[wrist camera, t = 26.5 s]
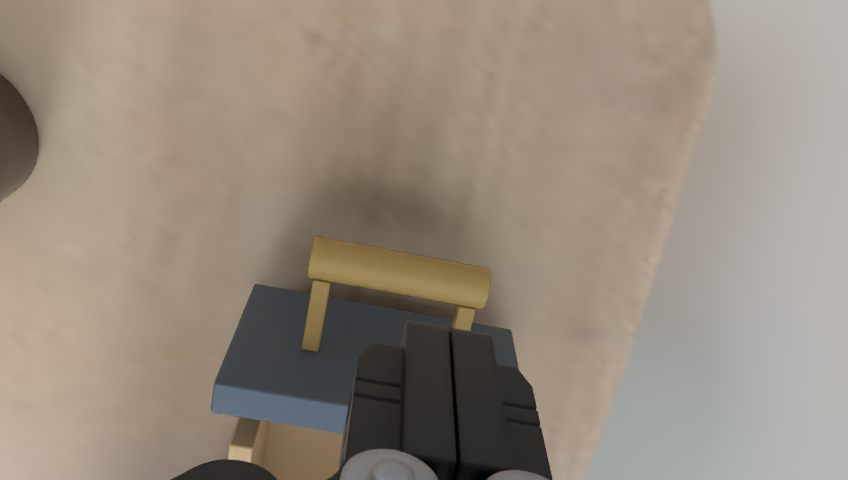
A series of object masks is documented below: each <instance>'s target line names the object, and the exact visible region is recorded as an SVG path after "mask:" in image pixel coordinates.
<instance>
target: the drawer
mask: <svg viewBox="0 0 848 480" xmlns="http://www.w3.org/2000/svg"><path fill="white" fill-rule="evenodd" d="M307 276H308V277H309V278H313V282H312V288H311V294H310V293H304V292H299V291H293V290H288V289H282V288H277V287H271V286H266V285H260V284H255V285H254V287H253V289H252V292H251V294H250V297H249V299H248V302H247V304H246V306H245V309H244V311H243V314H242V316H241V319H240V321H239V324H238V326H237V328H236V331H235V333H234V336H233V338H232V341H231V343H230V346H229V348H228V350H227V353H226V355H225V358H224V360H223V363H222V365H221V368H220V370H219V373H218V375H217V377H216V380H215V382H214V388H213V396H212V405H211V411H212V412H213V413H219V414H225V415H231V416H237V417H238V420H237V423H236V426H235V429H234V432H233V435H232V438H231V441H230V444H229V450H228V457H227V460H228V459H230V460H241V461H246V462H250V463H253V464H256V465H258V466H260V467H262V468H264V469H266V470H267V471H269V472H270V473H271V474H272V475H274V476H275V477H276V478H277V480H327V479H328V478H330V477H332V476H333V475H334V474H335V473H336V472H337V471H338V469H339V460H340V453H341V446H342V438H343V431H344V425H345V420H346V416H347V411H348V406H349V401H350V396H351V391H352V386H353V381H354V376H355V371H356V366H357V361H358V357H359V356H360V355H361V354H362V353H363V352H364V351H365V350H366V349H367V348H368V347H369V346H370V345H371V344H372V343H376V344H382V345H388V346H394V347H399V346H400V342H401V337H402V333H403V329H404V325H405V322H406V320H410V321H416V322H421V323H427V324H433V325H438V326H444V327H447V328H448V330H449V328H456V329H462V330H467V331H473V332H479V333H484V334H490V335H491V336H492V339H493V345H494V352H495V358H496V364H498V365H504V366H510V367H515V368H517V369H518V370H519V368H518V363H517V358H516V353H515V347H514V342H513V337H512V332H511V330H509V329H503V328H498V327H492V326H487V325H481V324H475V323H472V322H473V319H474V315H475V311H476V309H475V308H478V309H483V308H484V306H485V304H486V302H487V298H488V294H489V289H490V282H491V271H490V269H489V268H484V267H478V266H473V265H468V264H462V263H457V262H452V261H446V260H441V259H436V258H430V257H425V256H420V255H414V254H409V253H404V252H398V251H393V250H388V249H382V248H377V247H372V246H366V245H361V244H356V243H350V242H345V241H340V240H334V239H329V238H324V237H318V236H315V238H314V241H313V245H312V250H311V255H310V260H309V266H308V272H307ZM331 282H336V283H342V284H347V285H353V286H358V287H364V288H369V289H375V290H380V291H385V292H391V293H396V294H402V295H407V296H413V297H418V298H424V299H429V300H435V301H440V302H446V303H451V304H457V306H456V310H455V314H454V318H453V319H448V318H442V317H437V316H431V315H426V314H420V313H415V312H409V311H404V310H398V309H393V308H387V307H382V306H376V305H371V304H365V303H360V302H354V301H348V300H343V299H337V298H332V297H329V291H330V286H331Z"/></svg>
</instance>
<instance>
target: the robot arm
mask: <svg viewBox="0 0 848 480" xmlns="http://www.w3.org/2000/svg"><path fill="white" fill-rule="evenodd" d="M171 480H277V478H276V477H275V476H274V475H272V474H271V473H270V472H269V471H267V470H266V469H264V468H262V467H260V466H258V465H256V464H253V463H250V462H246V461H241V460H230V459H228V460H216V461H211V462H207V463H204V464H201V465H199V466H197V467H194V468H192V469H190V470H189V471H187V472H185V473H183V474H181V475H179V476H177V477H175V478H173V479H171ZM327 480H552V475H551V471H550V466H549V462H548V457H547V453H546V448H545V443H544V439H543V434H542V430H541V428H540V421H539V416H538V412H537V411H536V403H535V398H534V393H533V389H532V386H531V385H530V384H529V383H528V381H527V380H526V379H525V378H524V376H523V375H522V374H521V373H520V371H519V370H518V369H517V368H515V367H510V366H504V365H498V364H496V358H495V352H494V345H493V339H492V336H491V335H490V334H484V333H479V332H473V331H467V330H462V329H456V328H449V330H448V328H447V327H444V326H438V325H433V324H427V323H421V322H416V321H410V320H406V322H405V325H404V329H403V333H402V337H401V342H400V346H399V347H394V346H388V345H382V344H376V343H372V344H371V345H370V346H369V347H368V348H367V349H366V350H365V351H364V352H363V353H362V354H361V355H360V356H359V357H358V361H357V366H356V371H355V376H354V381H353V386H352V391H351V396H350V401H349V406H348V411H347V416H346V420H345V425H344V431H343V438H342V446H341V453H340V460H339V469H338V471H337V472H336V473H335V474H334V475H333V476H332V477H330V478H328V479H327Z"/></svg>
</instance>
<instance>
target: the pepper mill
mask: <svg viewBox="0 0 848 480" xmlns="http://www.w3.org/2000/svg"><path fill="white" fill-rule="evenodd" d="M37 154H38V135H37V130H36V126H35V123H34V120H33V117H32V115H31V113H30V110H29V108H28V107H27V105H26V103H25V102H24V100H23V99H22V97H21V96H20V95H19V93H18V92H17V91H16V90H15V89H14V88H13V87H12V86H11V85H10V84H9V83H8V82H7V81H6V80H5V79H4V78H2V77H1V76H0V202H1V201H3V200H4V199H5V198H6V197H8V196H9V195H10V194H12V193H13V192H14V191H15V190H17V189H18V188H19V187H20V186H21V185H23V183H24V182H25V181H26V180H27V179H28V177H29V176H30V174H31V172H32V171H33V168H34V166H35V163H36V159H37Z"/></svg>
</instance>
